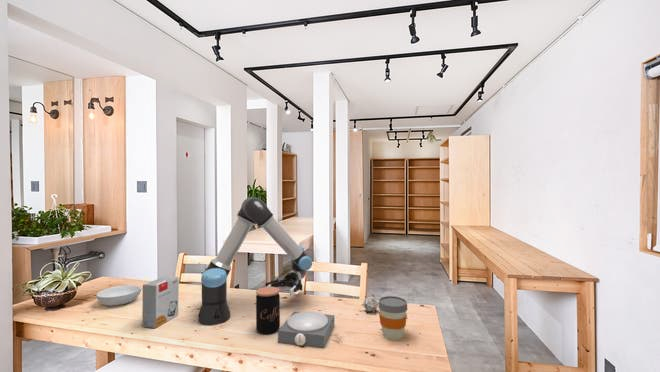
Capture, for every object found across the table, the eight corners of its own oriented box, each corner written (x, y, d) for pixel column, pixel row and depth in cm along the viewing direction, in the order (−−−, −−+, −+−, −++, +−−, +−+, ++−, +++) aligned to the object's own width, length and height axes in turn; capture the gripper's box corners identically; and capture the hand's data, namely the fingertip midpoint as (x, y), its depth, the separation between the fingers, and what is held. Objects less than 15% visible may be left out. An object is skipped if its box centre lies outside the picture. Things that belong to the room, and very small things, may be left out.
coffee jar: (258, 337, 135) (258, 295, 134) (254, 326, 144) (254, 288, 144) (282, 332, 139) (282, 292, 139) (276, 322, 149) (276, 285, 149)
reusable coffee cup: (393, 325, 145) (393, 294, 144) (413, 337, 134) (413, 302, 134) (372, 333, 138) (372, 299, 138) (392, 345, 127) (392, 309, 127)
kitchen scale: (277, 343, 129) (276, 328, 129) (294, 321, 149) (294, 309, 149) (323, 349, 124) (323, 333, 124) (334, 325, 145) (334, 312, 145)
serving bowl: (146, 301, 176) (146, 289, 176) (102, 313, 160) (102, 300, 160) (134, 293, 190) (134, 282, 190) (92, 303, 174) (92, 291, 174)
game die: (373, 319, 160) (379, 309, 154) (358, 312, 161) (363, 301, 155) (377, 305, 167) (382, 295, 161) (362, 299, 168) (367, 288, 162)
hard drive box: (155, 329, 143) (154, 286, 143) (141, 327, 144) (141, 284, 144) (179, 315, 158) (178, 276, 158) (166, 313, 160) (166, 275, 159)
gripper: (314, 286, 170) (302, 301, 149) (272, 284, 176) (254, 298, 155) (313, 273, 170) (301, 285, 149) (271, 271, 176) (254, 283, 155)
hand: (277, 292), depth 152 cm, fingers open, 13 cm apart
